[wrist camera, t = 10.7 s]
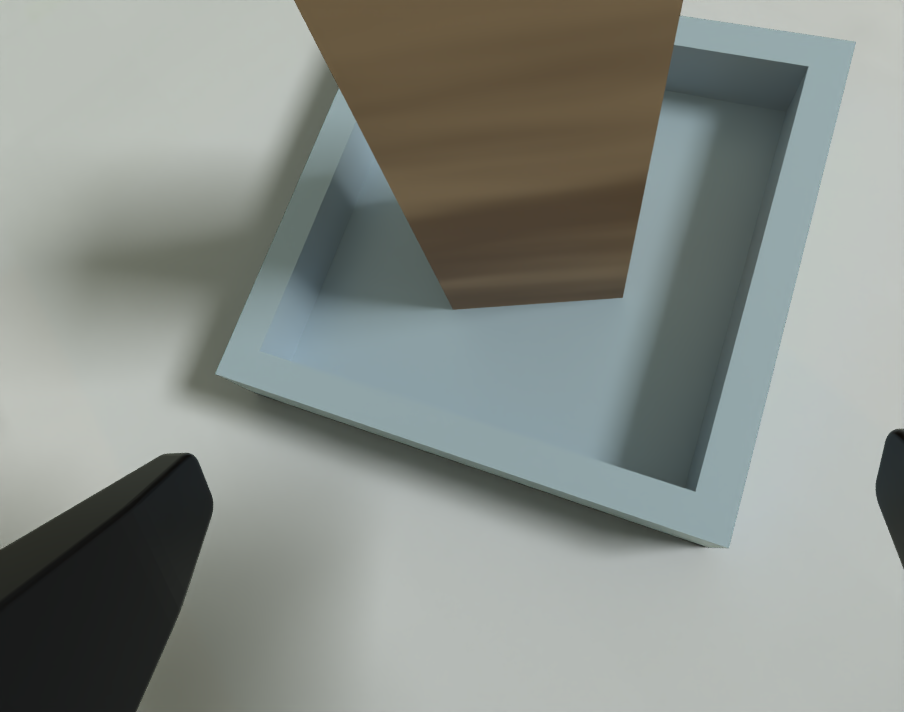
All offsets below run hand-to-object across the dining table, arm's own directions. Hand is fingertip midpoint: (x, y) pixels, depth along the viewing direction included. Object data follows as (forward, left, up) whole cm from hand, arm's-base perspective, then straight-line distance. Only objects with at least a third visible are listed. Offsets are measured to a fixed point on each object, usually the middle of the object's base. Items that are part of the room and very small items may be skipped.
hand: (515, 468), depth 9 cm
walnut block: (+7, +3, -10) cm, 13 cm away
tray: (+7, +3, -10) cm, 13 cm away
